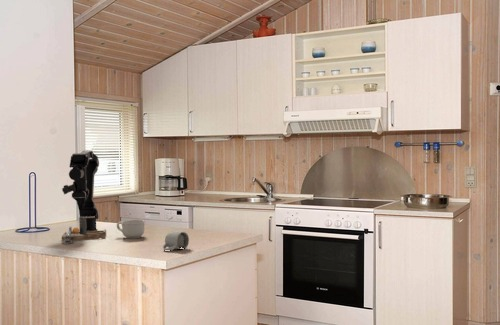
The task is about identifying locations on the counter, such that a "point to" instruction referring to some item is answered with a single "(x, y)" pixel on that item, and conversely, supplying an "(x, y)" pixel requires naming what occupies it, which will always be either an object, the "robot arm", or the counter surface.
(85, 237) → the lane
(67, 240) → the pivot post
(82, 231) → the lever
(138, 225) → the teacup
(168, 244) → the ceramic mug
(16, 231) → the counter surface
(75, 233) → the ball
